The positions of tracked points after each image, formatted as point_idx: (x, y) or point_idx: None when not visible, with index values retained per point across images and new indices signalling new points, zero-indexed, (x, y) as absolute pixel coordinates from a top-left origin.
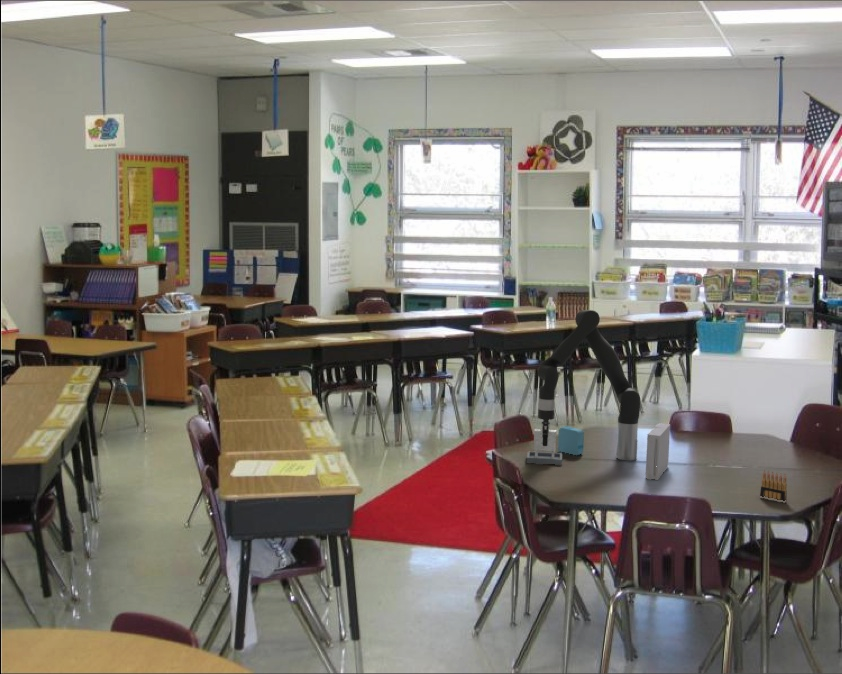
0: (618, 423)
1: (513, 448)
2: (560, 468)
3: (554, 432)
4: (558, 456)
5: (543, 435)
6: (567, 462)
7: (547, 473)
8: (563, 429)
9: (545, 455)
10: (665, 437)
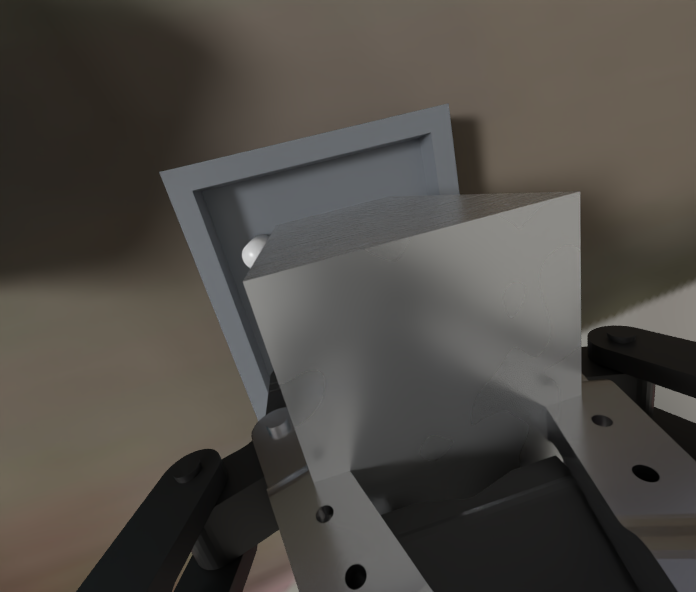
0: None
1: (72, 588)
2: (523, 106)
3: (565, 249)
4: (205, 205)
5: (666, 413)
6: (292, 90)
7: (679, 168)
8: None
9: (246, 319)
10: None
